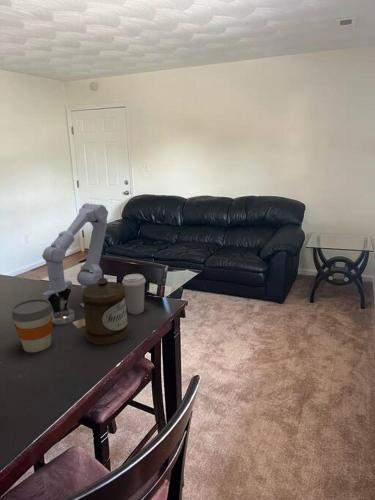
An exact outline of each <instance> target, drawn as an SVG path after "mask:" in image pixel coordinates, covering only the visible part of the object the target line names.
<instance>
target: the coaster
mask: <svg viewBox="0 0 375 500" xmlns="http://www.w3.org/2000/svg"><path fill="white" fill-rule="evenodd" d="M71 324H72V325H73V326H74V327H75V328H76V329H77V330H80V329H84V328H86V327H85V317H84V318H82V319H79V320H74V321H72V322H71Z"/></svg>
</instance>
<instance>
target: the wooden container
mask: <svg viewBox="0 0 375 500" xmlns="http://www.w3.org/2000/svg"><path fill="white" fill-rule="evenodd" d="M82 301H83V302H84V307H83V310H84V318H85V327H84V328H85V332H86V339H87V341H88V342H89V343H91V344H94V345H100V346H102V345H105V346H106V345H112V344H115V343H119V342H120V341H122V340H125V338H126V337H127V336H128V333H129V329H128V327H129V326H128V313H127V312H128V311H127V302H126V296H125V289H124V285H123V284H122V282H117V281H109V280H108V279H107V278H105V277H102V278H100V279H99V280H98V283H94V284H91V285H89V286H87V287H85V288H84V289H83V294H82Z"/></svg>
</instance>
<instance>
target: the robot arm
mask: <svg viewBox="0 0 375 500" xmlns="http://www.w3.org/2000/svg"><path fill="white" fill-rule="evenodd" d="M108 215H109V211H108V209H107V207H106V206H105V205H103V204H95V203H89V202H87V203H84V204H83V205H82V206H81V207H80V208H79V209H78V214H77V216H76V217H75V218H74V219H73V222H72V223H71V224H70V226H69V227H68V228H67V230H63V231H61V232H59V233H58V236H57V237H56V239H54V241H53V242H52V243H51V244H50V245H49V246H47V247H46V248H44V250H43V253H42V254H41V257H42V258H43V260H44V261H45V263H46V269H47V275H48V284H49V286H48V288H47V289H46V291H44V292H43V293H42V294H41V296H42V299H45V300H48V301H49V302H50V304H51V308H52V312H53V311H55V312H58V311H59V299H60V296H64V300H66V301H67V302H66V303H65V308H66V307H67V305H68V301H69V297H70V294H71V293H72V289H71V287H73V282H72V281H71V280H70V281H68V280H67V281H65V280H66V279H65V271H64V265H63V264H64V263H63V261H64V260H65V258H66V253H67V252H68V249H69V248H70V247H71V245H72V244H73V243H74V241H75V236H76V234H77V233H79V232H80V230H81V229H82V228H83V227H84V226H85V225H86V223H90V224H91V226H92V232H91V236H90V241H89V245H88V249H87V255H86V260H85V263H84V264H83V265H81V266H80V269H79V272H78V274H77V275H76V280H77V282H78V284H80V287H81V292H82V293H81V294H82V295H83V289H84V288H85V287H87V286H89V285H91V284H94V283H98V280H99V279H100V278H103V270H102V268H101V267H100V261H101V257H102V256H101V255H102V253H103V252H102V251H103V248H104V247H103V246H104V242H105V238H106V233H107V228H108ZM80 306H81V307H82V308H84V302H83V303H80Z"/></svg>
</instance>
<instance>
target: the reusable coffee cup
mask: <svg viewBox="0 0 375 500" xmlns="http://www.w3.org/2000/svg"><path fill="white" fill-rule="evenodd" d="M51 312H53V308H52V306H51V304H50V302H49V301H48V300H47V299H43V298H36V299H35V298H33V299H28V300H24V301H21V302H19V303H16V304H14V305H13V307H12V308H11V318H12V320H13V321H14V329H15V331H16V334H17V337H18V339H20V342H21V344H22V348H23V350H24V351H25V352H27V353H38V352H42V351H44V350H47V349H48V348H49V347H50V346H51V345H52V332H53V325H52V316H51Z"/></svg>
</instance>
